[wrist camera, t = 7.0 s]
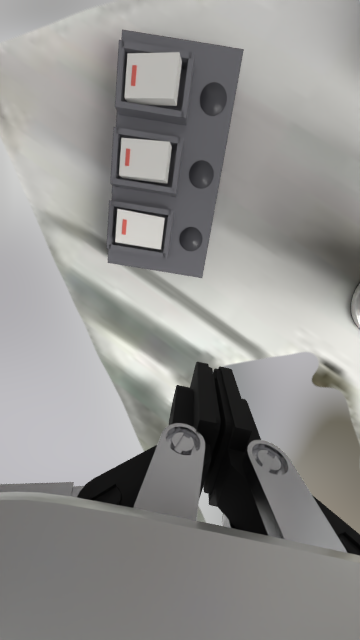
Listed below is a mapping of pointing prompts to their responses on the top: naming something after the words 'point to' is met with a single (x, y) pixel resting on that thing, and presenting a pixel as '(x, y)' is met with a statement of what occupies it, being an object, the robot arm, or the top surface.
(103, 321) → the top surface
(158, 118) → the rocker switch panel
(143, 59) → the rocker
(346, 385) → the top surface
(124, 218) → the rocker
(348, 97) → the top surface
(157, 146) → the middle rocker
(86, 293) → the top surface
